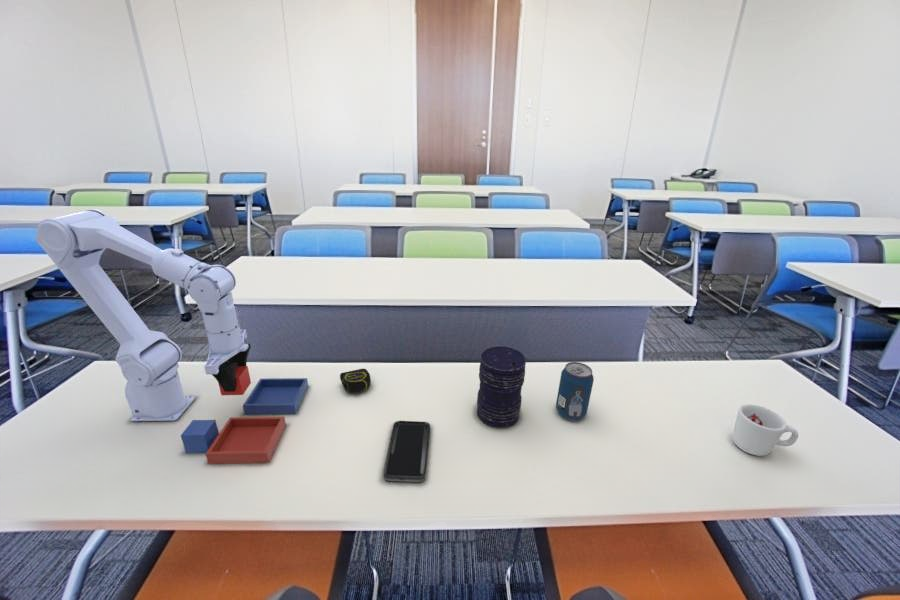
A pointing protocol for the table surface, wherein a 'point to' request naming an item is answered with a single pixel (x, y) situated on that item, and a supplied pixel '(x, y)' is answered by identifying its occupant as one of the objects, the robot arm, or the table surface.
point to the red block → (239, 381)
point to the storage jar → (500, 386)
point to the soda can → (574, 391)
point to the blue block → (199, 436)
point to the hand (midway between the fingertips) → (235, 383)
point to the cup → (760, 430)
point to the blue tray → (276, 396)
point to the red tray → (246, 440)
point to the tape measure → (355, 380)
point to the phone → (407, 452)
